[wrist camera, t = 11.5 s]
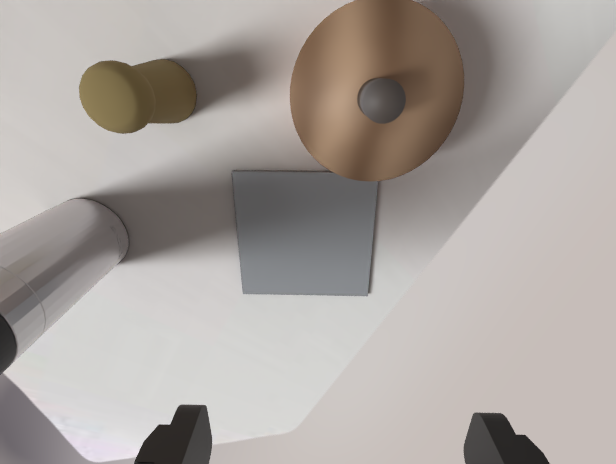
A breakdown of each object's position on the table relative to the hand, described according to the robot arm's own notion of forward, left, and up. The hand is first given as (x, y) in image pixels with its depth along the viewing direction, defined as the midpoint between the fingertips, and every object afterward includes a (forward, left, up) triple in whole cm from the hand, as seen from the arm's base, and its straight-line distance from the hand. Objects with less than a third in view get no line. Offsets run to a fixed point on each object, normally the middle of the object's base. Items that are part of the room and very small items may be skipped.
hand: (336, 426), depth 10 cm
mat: (-2, -8, -30) cm, 31 cm away
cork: (-16, +8, -30) cm, 35 cm away
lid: (+4, +8, -24) cm, 26 cm away
